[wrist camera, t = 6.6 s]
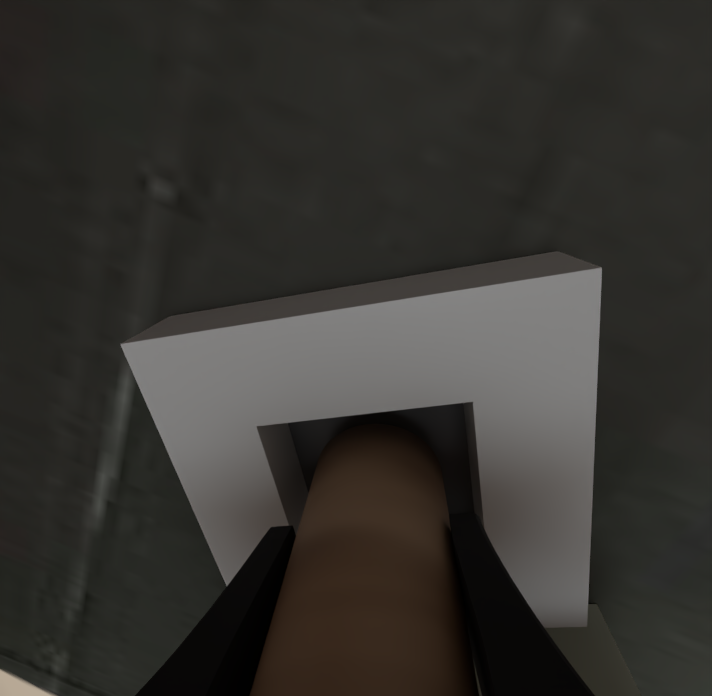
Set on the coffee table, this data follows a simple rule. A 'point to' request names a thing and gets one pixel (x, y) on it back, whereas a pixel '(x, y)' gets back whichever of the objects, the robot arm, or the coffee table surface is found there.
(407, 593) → the peg
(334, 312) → the socket block
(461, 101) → the coffee table surface
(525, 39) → the coffee table surface
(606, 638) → the pink slab
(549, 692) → the robot arm
